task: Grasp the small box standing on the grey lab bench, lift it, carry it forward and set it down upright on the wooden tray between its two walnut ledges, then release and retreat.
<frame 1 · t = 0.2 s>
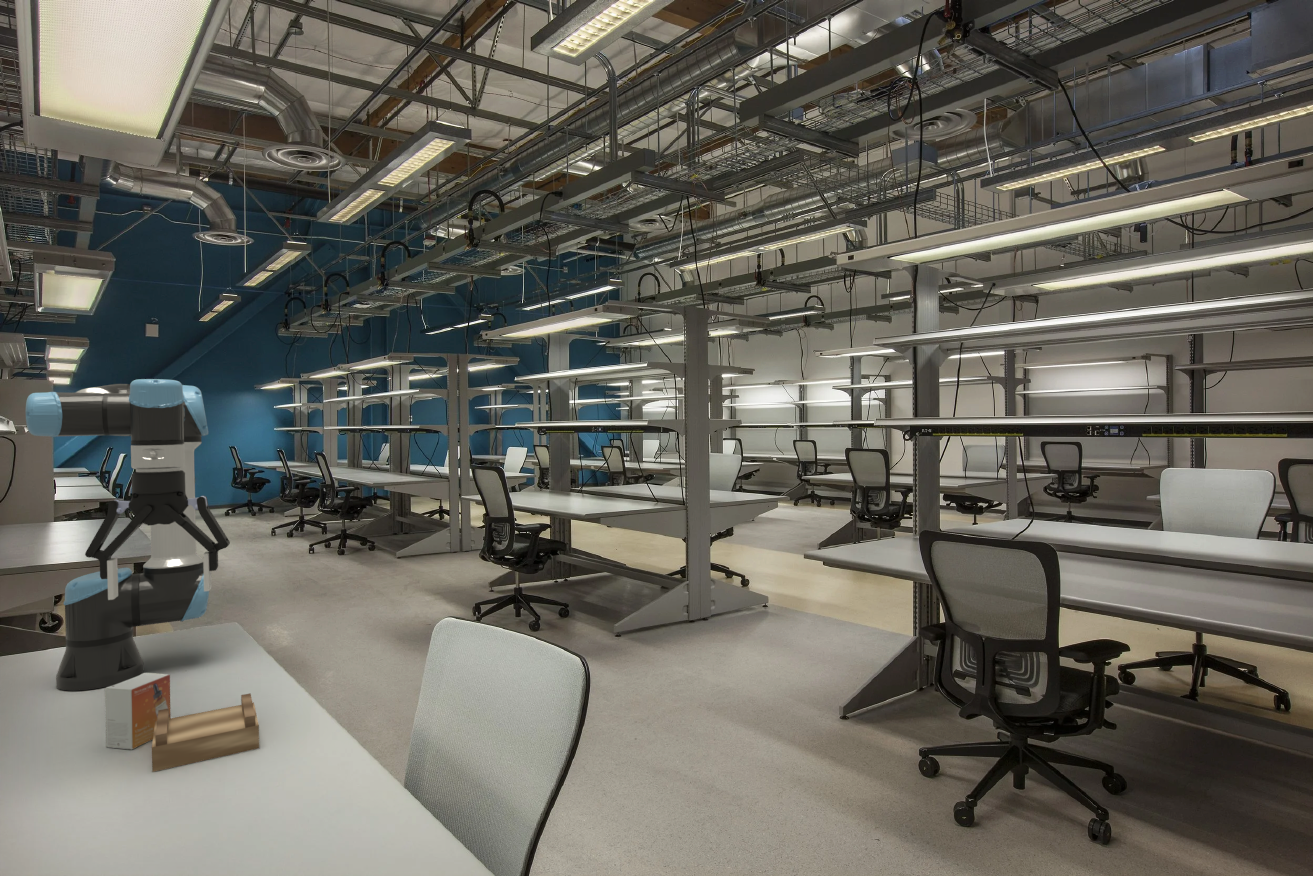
hand: (161, 594, 123), 27 cm above the table, fingers open, 13 cm apart
wooden tray: (207, 746, 124), on the table
small box: (139, 740, 127), on the table
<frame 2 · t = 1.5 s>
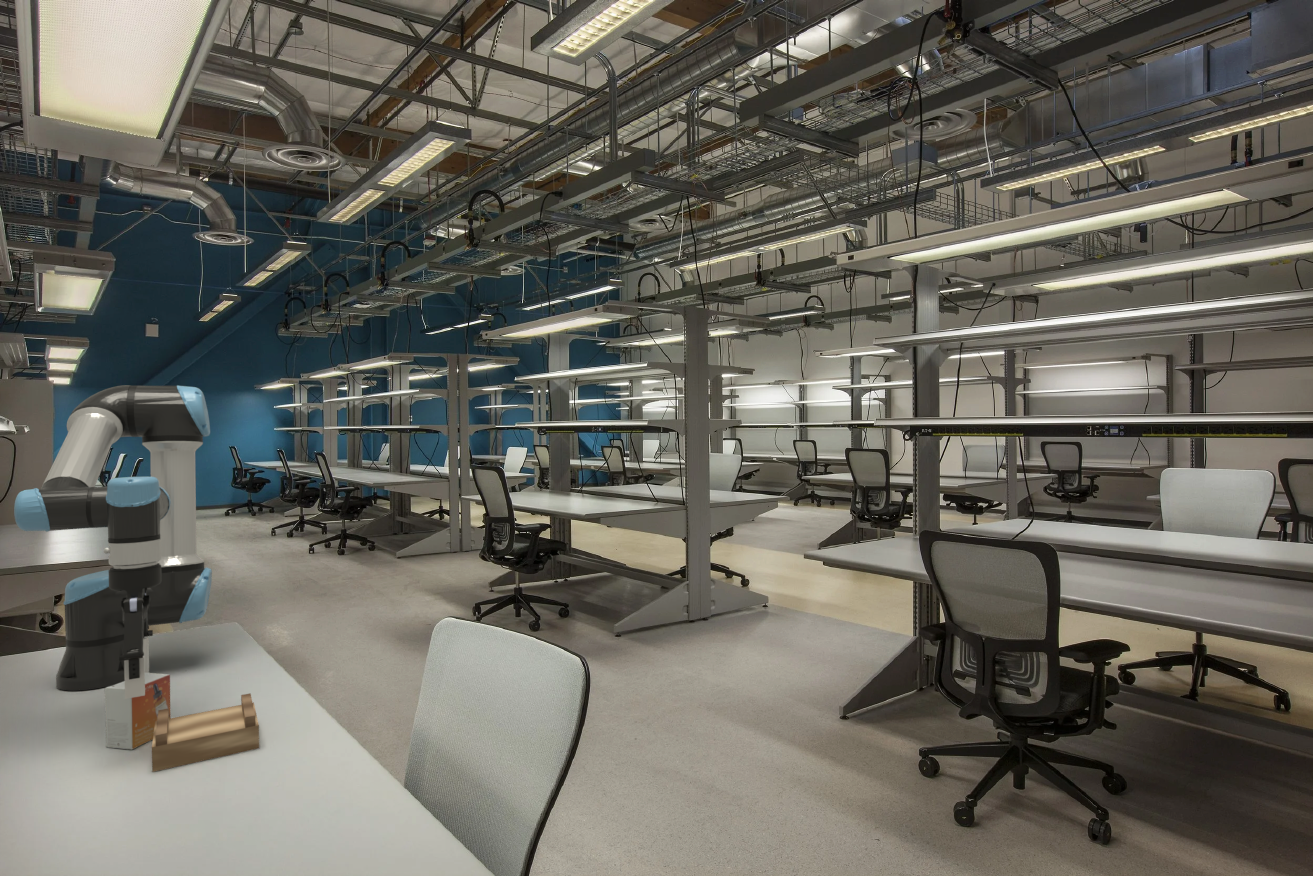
hand: (137, 685, 126), 10 cm above the table, fingers open, 13 cm apart
nothing on the table moved.
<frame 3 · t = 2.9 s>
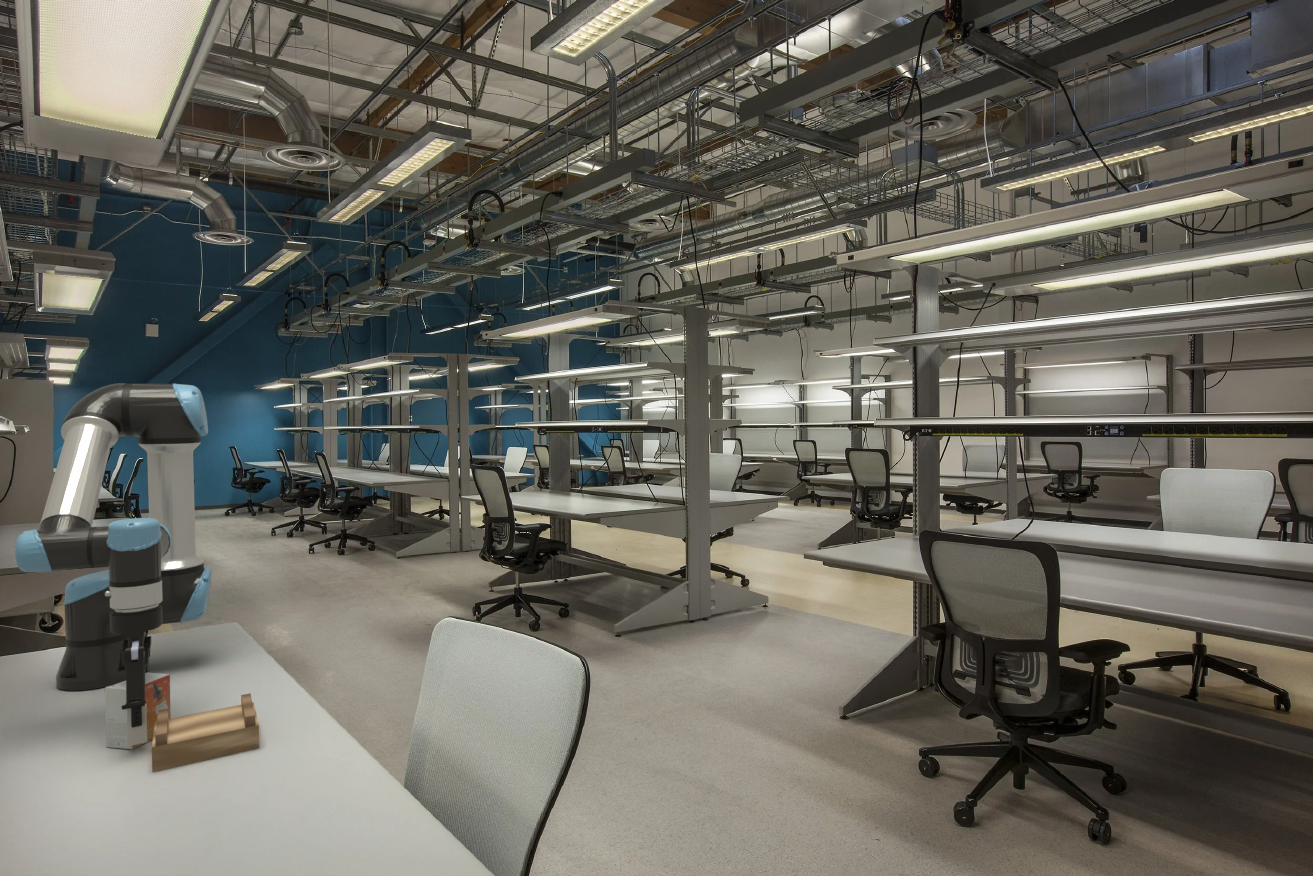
hand: (139, 732, 127), 1 cm above the table, fingers closed on small box, 9 cm apart
small box: (139, 740, 127), on the table, touching gripper
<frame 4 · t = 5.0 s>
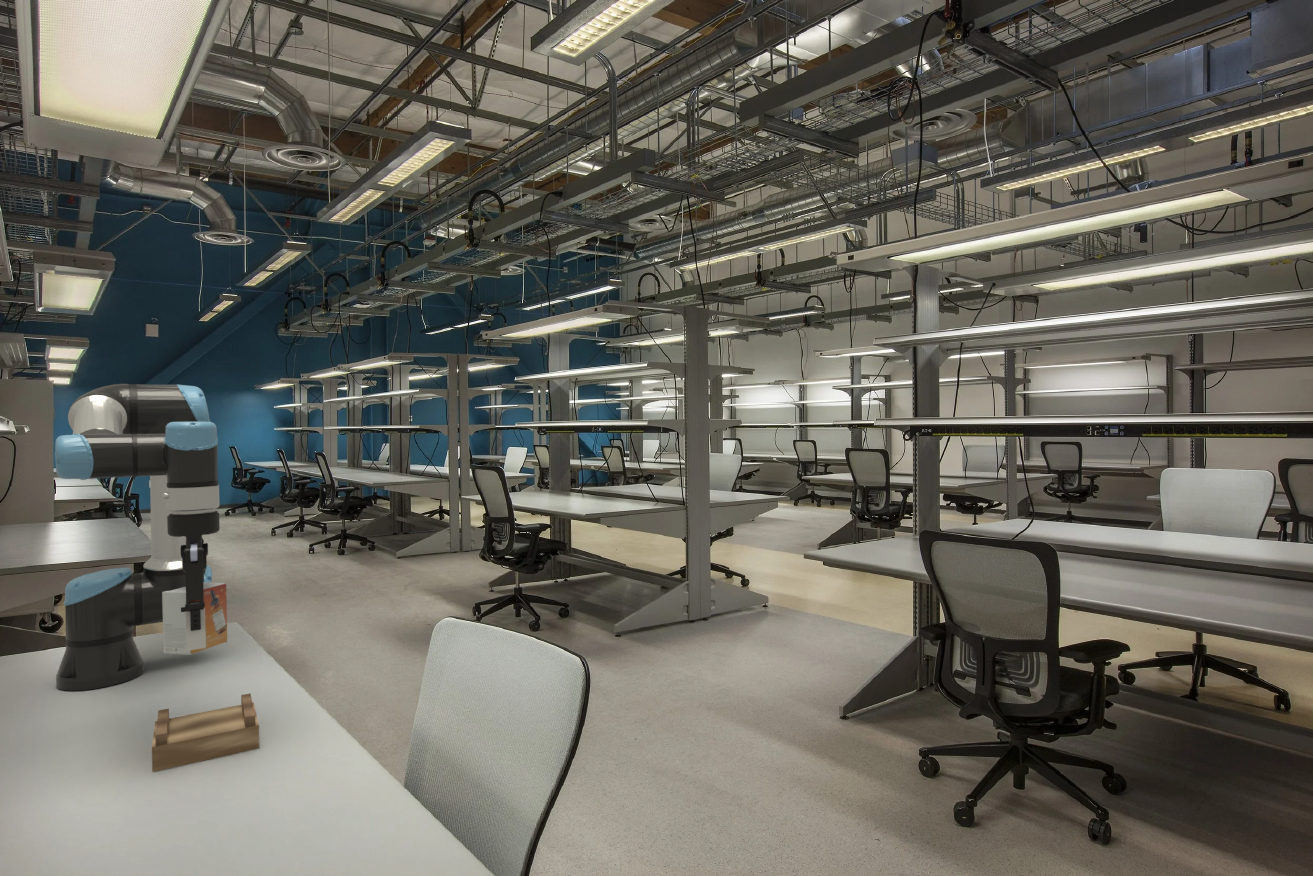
hand: (196, 641, 123), 18 cm above the table, fingers closed on small box, 9 cm apart
small box: (196, 649, 123), point 17 cm above the table, touching gripper
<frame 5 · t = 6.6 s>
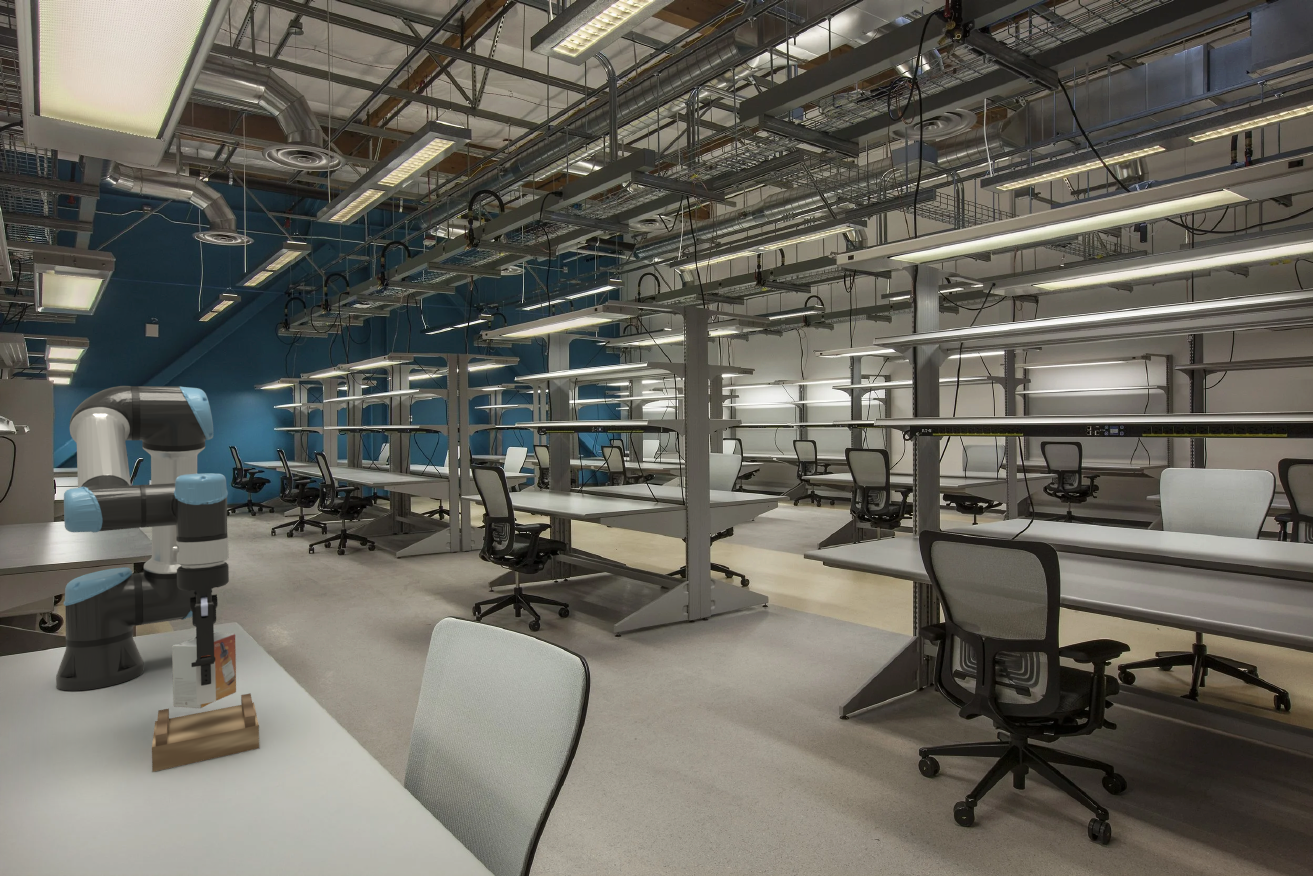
hand: (205, 693, 124), 9 cm above the table, fingers closed on small box, 9 cm apart
small box: (205, 700, 124), point 8 cm above the table, touching gripper
when the fingers open (7 cm above the table, at t = 7.6 s): small box drops 2 cm, resting on wooden tray.
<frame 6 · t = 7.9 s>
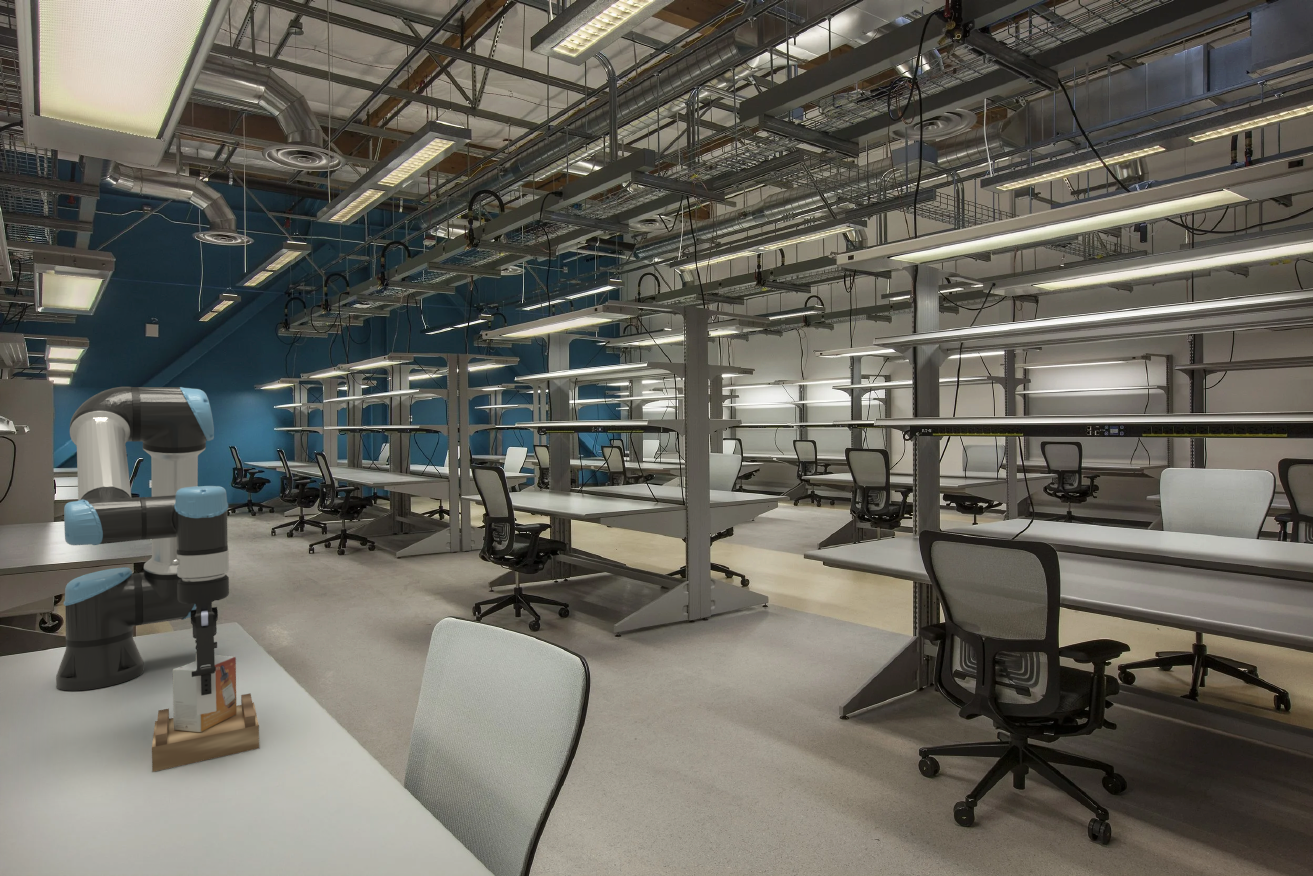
hand: (206, 699, 124), 8 cm above the table, fingers open, 13 cm apart
small box: (206, 723, 124), point 4 cm above the table, touching wooden tray
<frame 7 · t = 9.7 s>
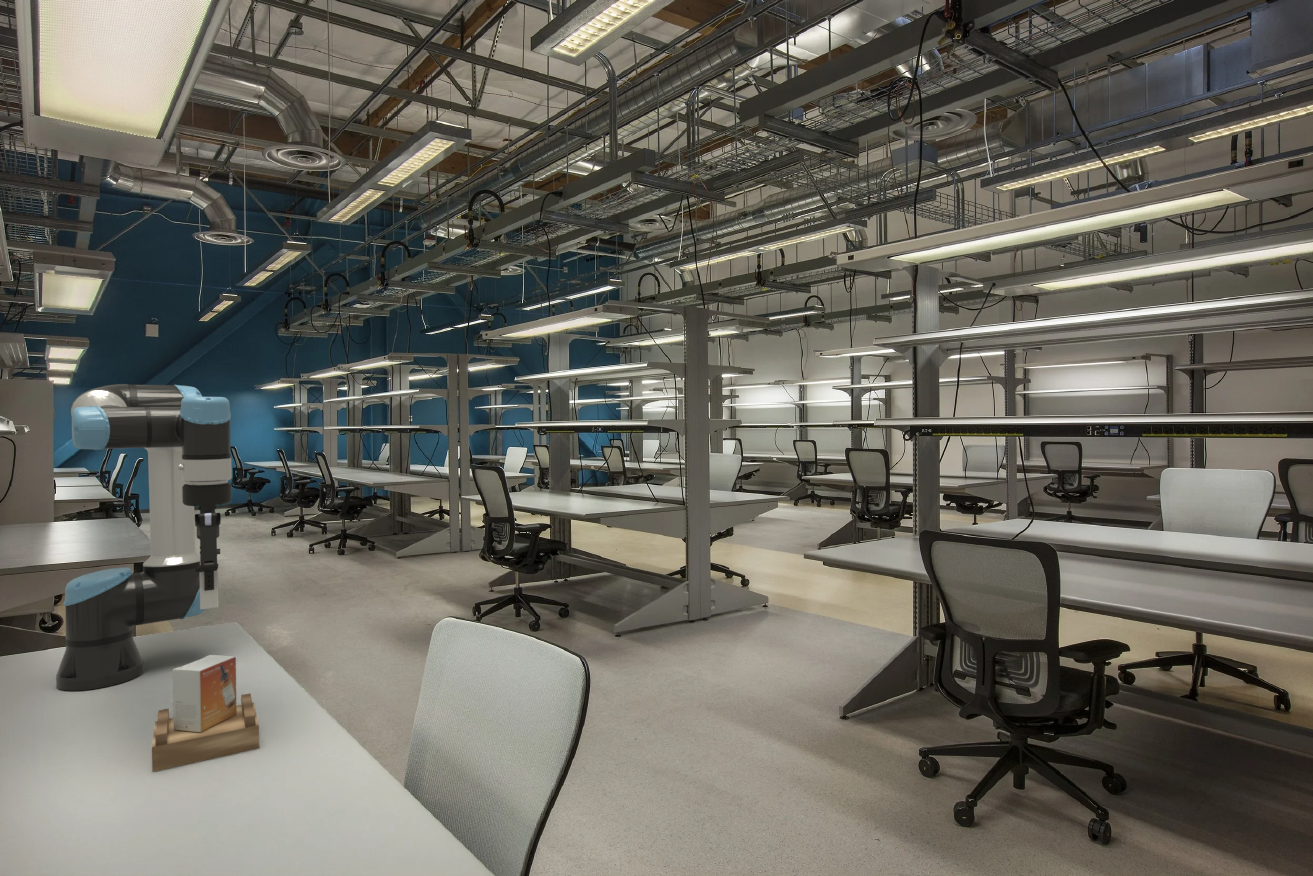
hand: (209, 599, 130), 24 cm above the table, fingers open, 13 cm apart
nothing on the table moved.
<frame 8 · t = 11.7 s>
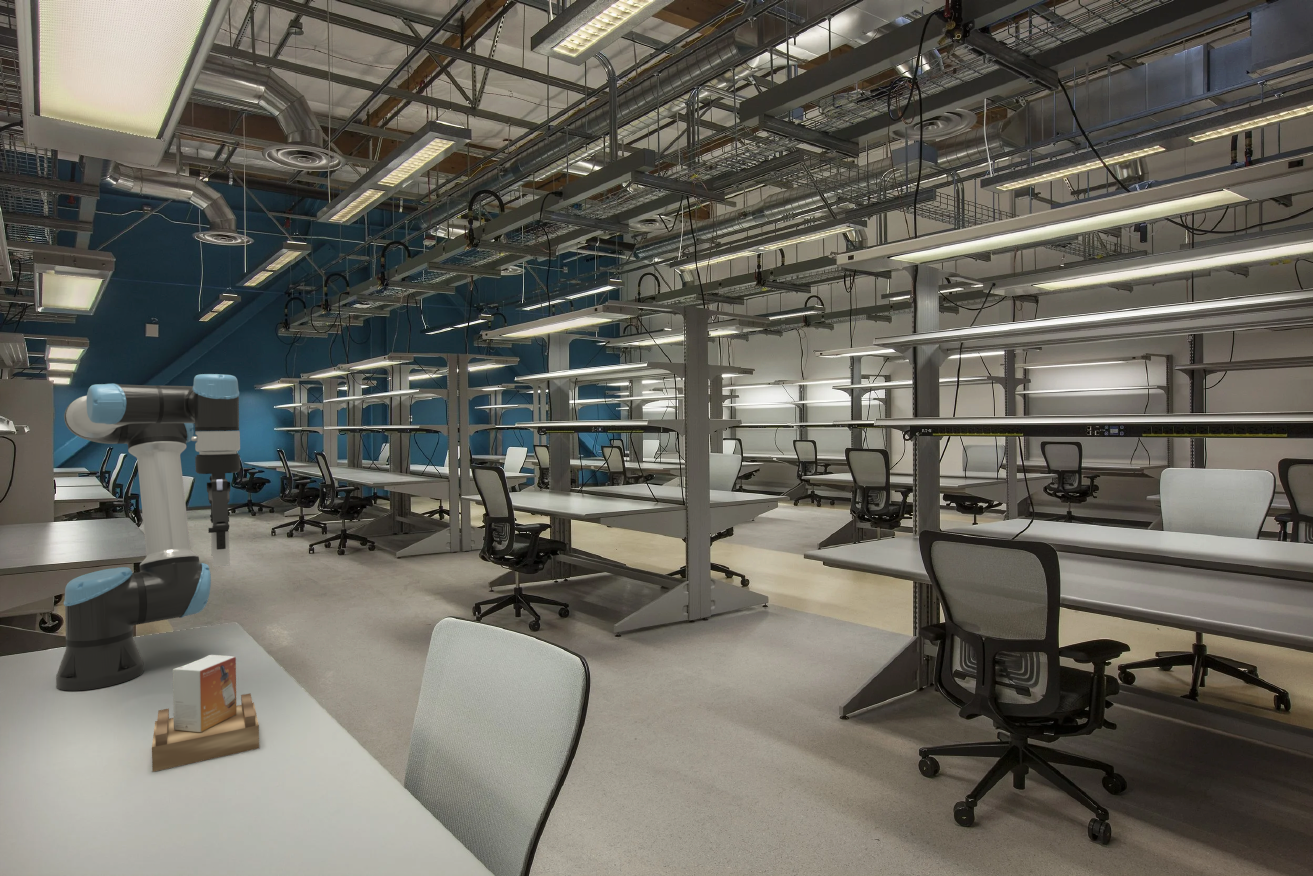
hand: (220, 560, 142), 29 cm above the table, fingers open, 13 cm apart
nothing on the table moved.
at the end: small box inside the target area on the wooden tray (0.4 cm from its centre), point 3.8 cm above the wooden tray's base; small box tilted 0°; the gripper is holding nothing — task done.
